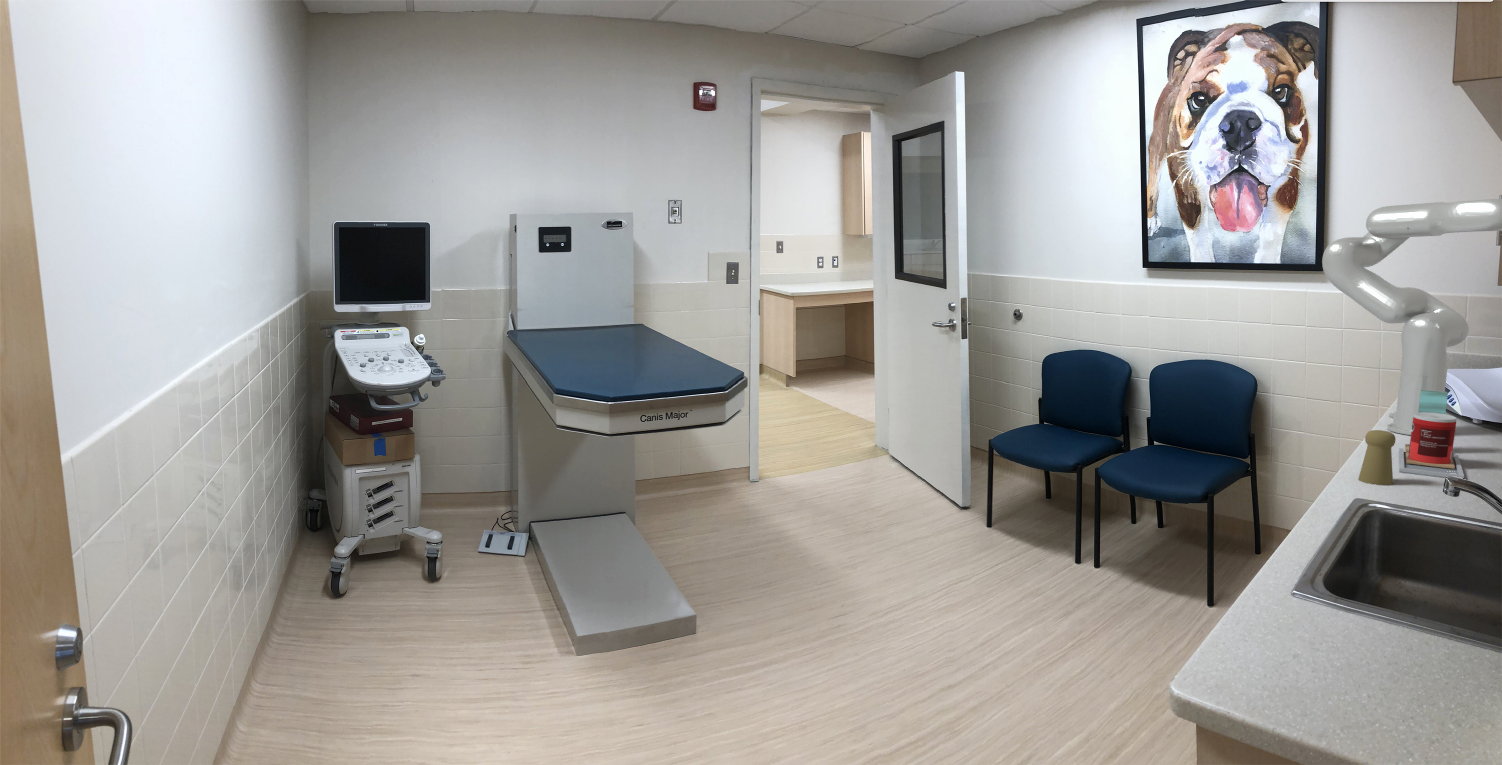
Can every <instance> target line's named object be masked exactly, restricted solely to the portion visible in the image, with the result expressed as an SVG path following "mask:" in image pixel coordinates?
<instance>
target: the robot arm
mask: <svg viewBox="0 0 1502 765" xmlns="http://www.w3.org/2000/svg"><path fill="white" fill-rule="evenodd" d="M1365 228H1366V229H1367V233H1366V234H1365V235H1363V236H1357V237H1355V236H1353V237H1351V236H1349V237H1348V236H1347V237H1342V238H1339V239H1336V240H1334V241H1331V242H1330V243H1329V244H1328V245H1327V246H1326V248H1325V249H1324V252H1323V255H1322V260H1321V263H1322V269H1323V273H1324V275H1325V277H1326V278H1327V280H1328V281H1329V282H1330V283H1331V285H1333V286H1334V287H1335V288H1336V289H1338V290H1339V291H1340V292H1341V293H1343V294H1345V295H1346V296H1348V298H1350V299H1352V300H1353V301H1354V302H1355V303H1357V304H1358V305H1359V306H1361V307H1362V308H1363V309H1365V310H1366V311H1368V312H1369V313H1370V314H1372V316H1374V317H1376V318H1378V319H1379V320H1380V321H1381V322H1384V323H1385V324H1403V323H1404V325H1403V327H1402V330H1401V335H1400V336H1401V348H1402V349H1401V352H1402V353H1401V354H1402V357H1401V365H1400V366H1401V367H1400V377H1399V385H1398V386H1399V387H1398V395H1397V401H1396V402H1397V403H1396V411H1393V412H1394V413H1393V412H1390V413H1389V414H1388V417H1389V418H1390V419H1392V420H1393V421H1392V422H1393V423H1388V424H1387V426H1386V428H1387V430H1388V431H1389V432H1391V433H1397V434H1401V435H1408V436H1411V431H1412V423H1413V416H1414V414H1415V413H1418V410H1419V401H1420V393H1421V390H1428V391H1441V392H1446V384H1447V377H1448V366H1449V365H1448V364H1449V363H1448V360H1449V359H1448V353H1447V348H1450V347H1455V346H1457V345H1459V344H1461V343H1463V341H1465V340H1466V338H1467V337H1468V335H1469V331H1470V327H1469V323H1468V322H1467V320H1466V318H1465V317H1464V316H1463V315H1462V314H1460V313H1459V312H1458V311H1456V310H1455V309H1453V308H1452V307H1451V306H1449V305H1447V304H1445V303H1444V302H1443V301H1441V300H1440V299H1438V298H1436V297H1435V296H1434V295H1431V294H1430V293H1428V292H1426V291H1424V290H1423V289H1419V288H1416V287H1399V286H1396V285H1394V284H1392V283H1390V282H1388V281H1387V280H1385V279H1384V278H1383V277H1381V275H1379V274H1377V273H1376V272H1373V271H1371V270H1369V269H1367V268H1369V267H1370V268H1371V267H1373V266H1376V265H1377V264H1379V263H1380V262H1382V261H1383V260H1384V259H1386V258H1387V257H1388V256H1390V254H1392V253H1393V252H1394V251H1395V250H1397V249H1398V248H1399V247H1400V246H1401V245H1403V244H1404V243H1405V242H1406V241H1407V240H1408V239H1410V238H1416V237H1417V238H1419V237H1437V236H1438V237H1440V236H1442V235H1445V234H1451V233H1453V234H1455V233H1466V232H1467V233H1472V232H1473V233H1474V232H1502V198H1489V199H1477V200H1465V201H1450V202H1445V201H1444V202H1443V201H1437V202H1435V201H1434V202H1423V203H1413V204H1398V205H1387V206H1386V205H1385V206H1382V207H1379V208H1376V209H1374V210H1373V211H1371V212H1370V213H1369V214H1368V216H1367V218H1366V222H1365Z"/></svg>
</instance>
